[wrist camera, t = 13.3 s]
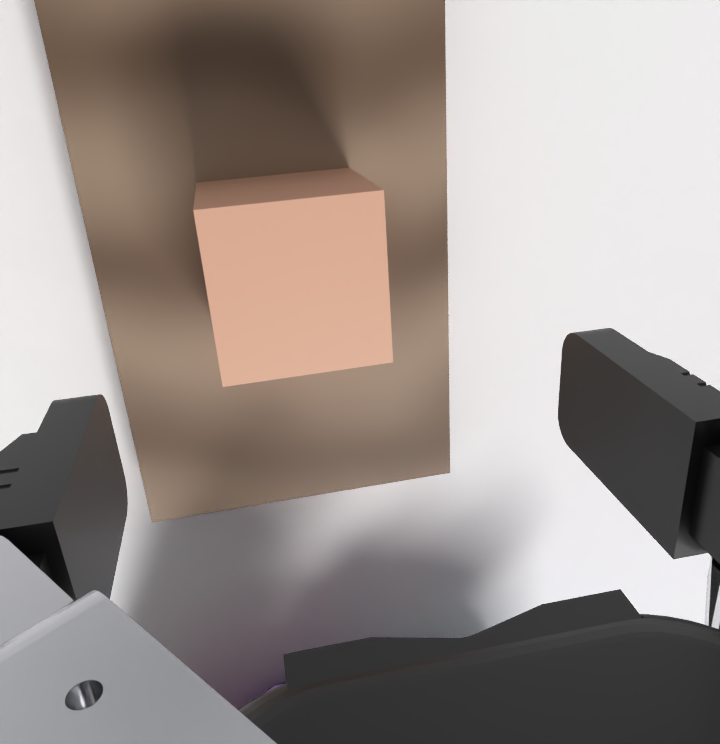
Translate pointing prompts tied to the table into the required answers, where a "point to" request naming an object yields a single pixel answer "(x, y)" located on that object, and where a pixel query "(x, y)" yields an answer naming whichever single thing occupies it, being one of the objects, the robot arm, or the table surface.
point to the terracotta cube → (295, 273)
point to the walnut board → (243, 160)
